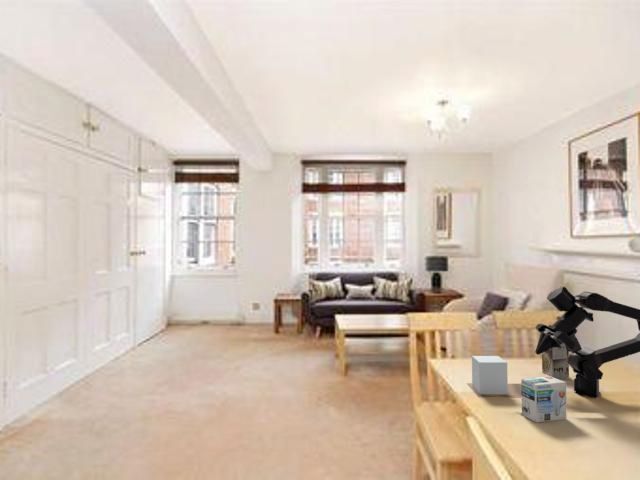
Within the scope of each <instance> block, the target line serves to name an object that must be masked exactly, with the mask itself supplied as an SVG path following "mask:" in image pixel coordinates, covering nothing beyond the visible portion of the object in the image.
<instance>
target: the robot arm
mask: <svg viewBox="0 0 640 480" xmlns="http://www.w3.org/2000/svg"><path fill="white" fill-rule="evenodd" d="M546 300H548V302H549V303H551V304H552V305H553V306H554V307H555V308H556V309H557V310H558V311H559V312H564V313H562V315H561V316H560V315H559V316H557V317H556V318H555V319H556V320H555V322H554V323H553V324H552V325H551V324H549V325H548V326H547V325H546V324H543V323H538V324H537V325H536V326H535V329H536V330H537V332H539V333H540V335H539V338H538V342H537V345H536V348H535V352H534V353H535V354H536V355H542V353H543V352H545V351H547V350H549V349H551V348H553V347H558V348H562V347H561V345H562V344H563V343H564V344H565V346H566V349H567V350H568V351H569V352H570V353H569V358H568V364H569V367H570V368H571V369H572V372H573V373H575V378H574V379H573V391H574V394H576V395H578V396H581V397H586V398H587V397H588V398H592V399H597V398H598V397H599V396H600V395H601V392H600V380H602V378H603V375H604V372H603V371H602V370H600V367H601V366H602V365H604V364H606V363H607V364H608V363H610V362H613V361H616V360H619V359H623V358H625V357H628V356H632V355H636V354H638V353H640V309H639V308H636V307H633V306H629V305H627V304H622V303H619V302H616V301H613V300H611V299H609V298H608V297H606V296H605V295H602V294H600V293H597V292H591V291H582V292H580V293H579V294H577V295H573V294H572V293H571V291H569V290H568V289H567V287H565V286H563V285H561V286H560V287H558V288H556V289H554V290H553V291H551V292H549V293H548V295H547V297H546ZM588 310H591V311H597V312H607V313H612V314H615V315H618V316H619V315H620V316H623V317H626V318H629V319H632V320H636V323H637V327H638V331H639V333H638V334H637V335H636V336H635V337H634V338H630V339H628V340H625V341H622V342H618V343H615V344H612V345H609V346H606V347H603V348H599V349H597V350H593V349H591V348H588V347H582V346H581V344H580V342H579V339H578V338H577V336H576V334H577V333H578V327H580V325H582V323H583V322H584V321H585V320H586V321H589V322H592V323H593V322H594V313H593V312H588Z"/></svg>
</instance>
